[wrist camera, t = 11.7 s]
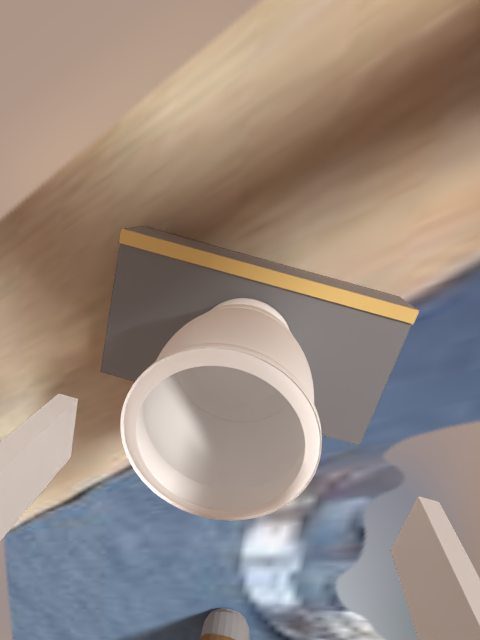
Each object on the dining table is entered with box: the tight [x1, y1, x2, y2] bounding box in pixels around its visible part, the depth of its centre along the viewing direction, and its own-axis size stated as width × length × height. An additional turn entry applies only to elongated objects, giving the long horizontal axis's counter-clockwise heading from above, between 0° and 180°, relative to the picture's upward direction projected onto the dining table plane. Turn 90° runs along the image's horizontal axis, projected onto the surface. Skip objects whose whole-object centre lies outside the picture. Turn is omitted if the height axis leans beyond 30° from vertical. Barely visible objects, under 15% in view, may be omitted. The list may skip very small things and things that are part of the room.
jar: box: [120, 298, 322, 520], centre depth 26 cm, size 11×10×15 cm
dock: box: [101, 226, 419, 446], centre depth 35 cm, size 26×14×5 cm, turn 75°
